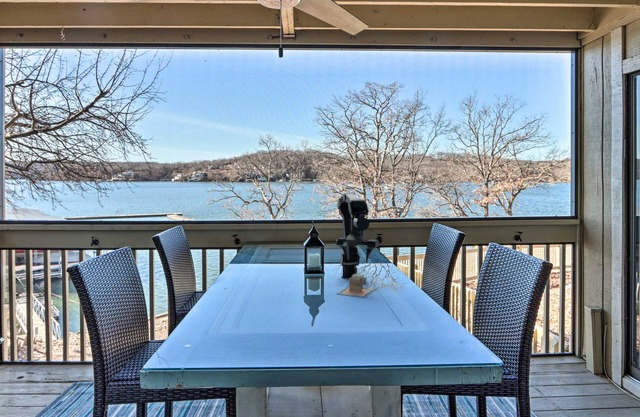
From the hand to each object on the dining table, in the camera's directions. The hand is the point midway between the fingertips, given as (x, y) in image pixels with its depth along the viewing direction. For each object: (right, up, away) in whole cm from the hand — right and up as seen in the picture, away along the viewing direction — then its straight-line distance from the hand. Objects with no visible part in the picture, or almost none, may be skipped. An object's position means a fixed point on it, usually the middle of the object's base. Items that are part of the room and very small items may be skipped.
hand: (357, 261), depth 190 cm
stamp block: (-1, -12, -9) cm, 15 cm away
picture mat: (-1, -12, -9) cm, 15 cm away
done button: (+1, -9, +5) cm, 10 cm away
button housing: (+1, -11, +5) cm, 12 cm away
